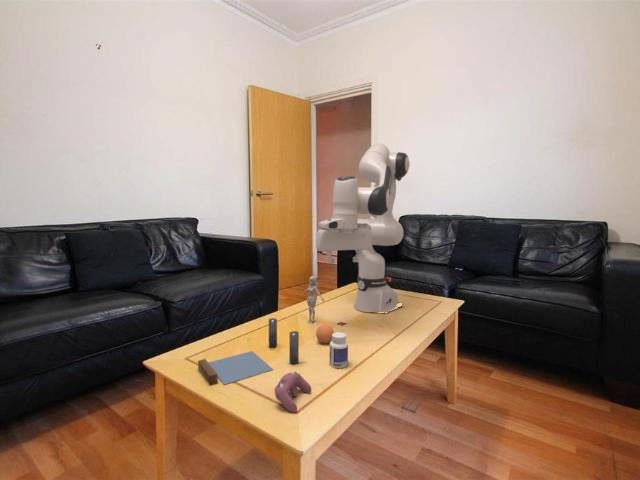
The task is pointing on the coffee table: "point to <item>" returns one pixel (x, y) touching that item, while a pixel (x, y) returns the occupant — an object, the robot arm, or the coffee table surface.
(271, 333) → the post
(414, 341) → the coffee table surface
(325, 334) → the ball
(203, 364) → the stopper
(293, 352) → the post
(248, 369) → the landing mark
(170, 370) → the coffee table surface
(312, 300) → the human figurine
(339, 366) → the pill bottle
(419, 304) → the coffee table surface
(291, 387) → the video game controller
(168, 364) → the coffee table surface
